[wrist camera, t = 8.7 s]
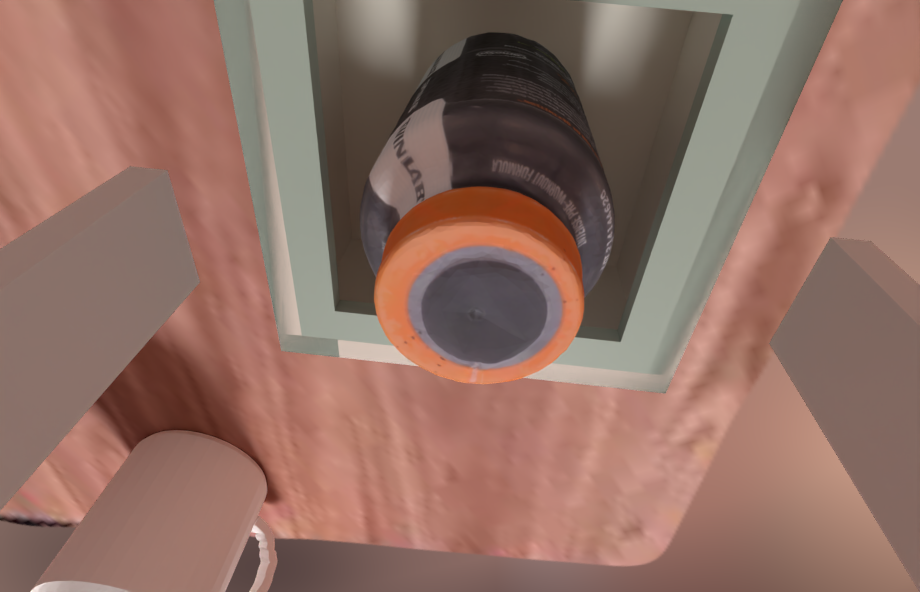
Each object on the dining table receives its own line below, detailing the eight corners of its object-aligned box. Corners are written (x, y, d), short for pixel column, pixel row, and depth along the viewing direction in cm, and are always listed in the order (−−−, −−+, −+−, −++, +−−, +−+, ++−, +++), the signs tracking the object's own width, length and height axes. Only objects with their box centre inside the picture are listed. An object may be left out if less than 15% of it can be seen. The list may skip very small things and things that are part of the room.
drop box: (338, 245, 23) (281, 350, 17) (306, -129, 15) (182, -159, 10) (627, 275, 23) (665, 393, 17) (746, -93, 15) (889, -101, 9)
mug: (108, 448, 34) (-6, 596, 27) (200, 412, 31) (100, 567, 24) (234, 537, 40) (169, 678, 32) (322, 514, 37) (273, 665, 29)
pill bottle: (386, 71, 18) (251, 228, 9) (551, -3, 16) (599, 98, 7) (452, 215, 21) (405, 443, 12) (597, 167, 19) (671, 389, 10)
